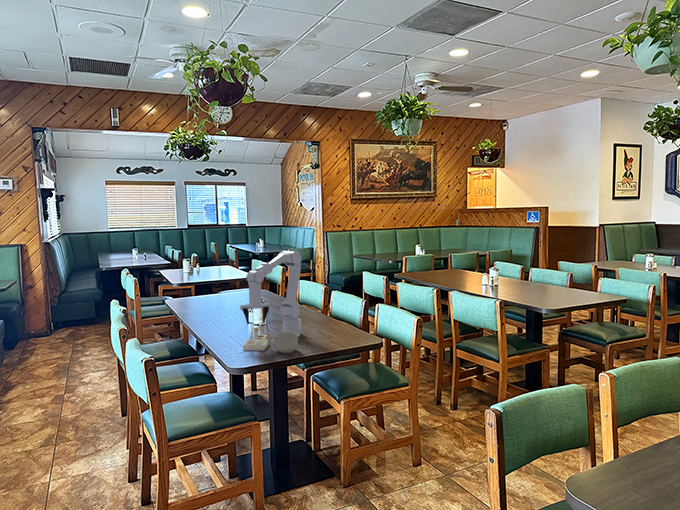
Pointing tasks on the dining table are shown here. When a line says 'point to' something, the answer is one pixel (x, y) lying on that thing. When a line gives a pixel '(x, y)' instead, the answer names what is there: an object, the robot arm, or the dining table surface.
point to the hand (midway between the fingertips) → (255, 323)
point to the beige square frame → (262, 337)
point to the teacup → (285, 341)
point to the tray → (250, 345)
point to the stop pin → (256, 335)
